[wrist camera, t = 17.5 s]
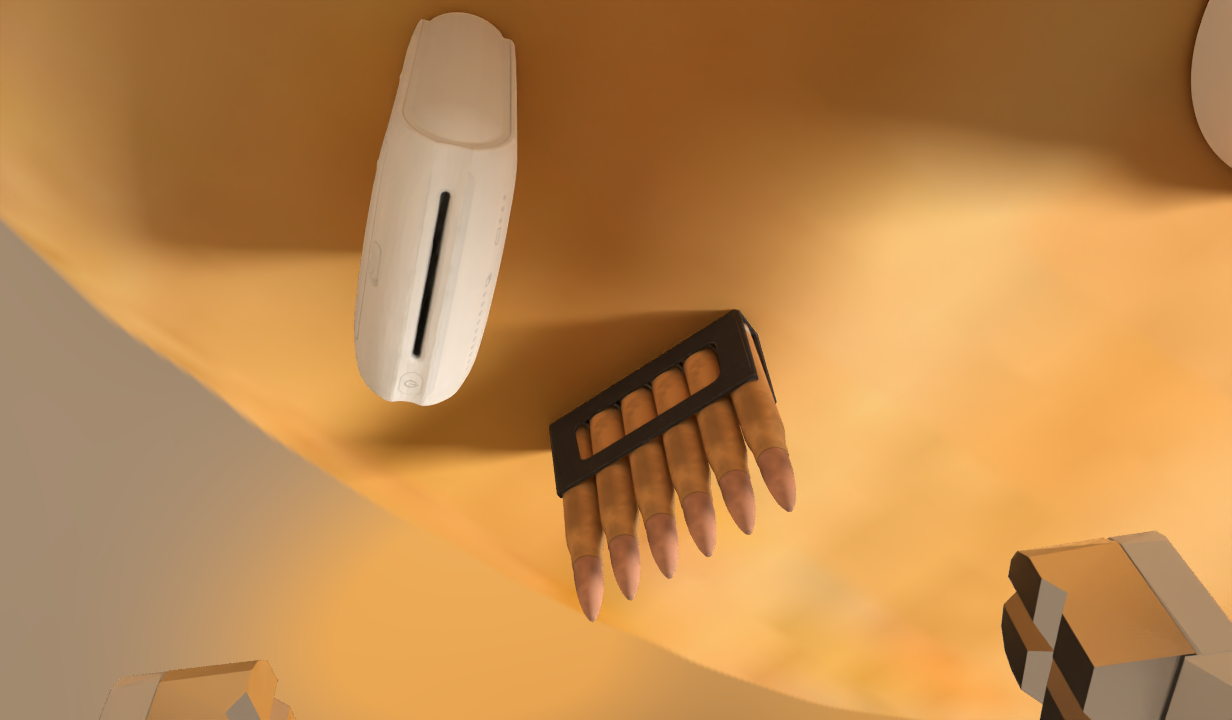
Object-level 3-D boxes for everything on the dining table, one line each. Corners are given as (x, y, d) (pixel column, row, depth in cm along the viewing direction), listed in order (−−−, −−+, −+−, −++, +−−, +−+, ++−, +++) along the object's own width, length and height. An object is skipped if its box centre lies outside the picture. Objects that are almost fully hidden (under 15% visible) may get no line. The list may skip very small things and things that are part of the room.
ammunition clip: (737, 307, 46) (800, 482, 36) (758, 334, 47) (825, 512, 37) (547, 426, 49) (558, 619, 39) (571, 449, 50) (586, 643, 40)
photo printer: (477, 262, 43) (468, 444, 33) (375, 243, 42) (333, 424, 32) (528, 24, 38) (535, 153, 28) (412, -4, 37) (376, 120, 27)
